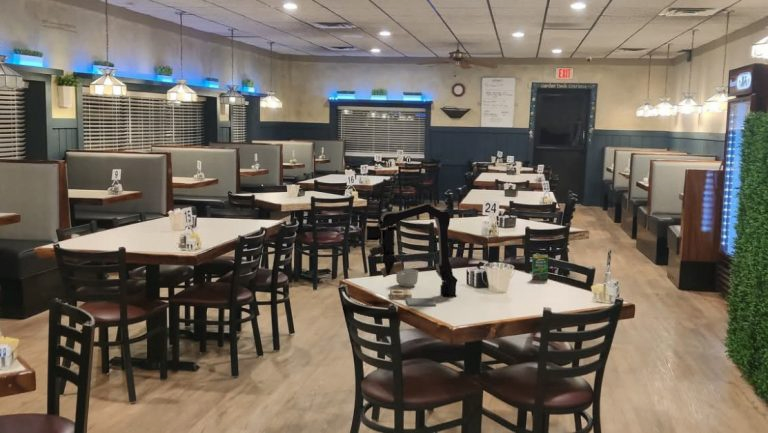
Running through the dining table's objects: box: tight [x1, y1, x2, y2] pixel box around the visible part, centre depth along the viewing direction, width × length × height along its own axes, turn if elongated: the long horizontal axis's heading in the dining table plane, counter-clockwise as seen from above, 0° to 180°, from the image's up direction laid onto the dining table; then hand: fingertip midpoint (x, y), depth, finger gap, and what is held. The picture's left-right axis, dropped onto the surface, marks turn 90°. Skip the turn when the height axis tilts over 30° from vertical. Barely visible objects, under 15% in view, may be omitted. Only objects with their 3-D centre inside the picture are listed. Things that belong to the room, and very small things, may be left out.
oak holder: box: [389, 289, 413, 300], centre depth 344 cm, size 9×10×2 cm
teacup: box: [395, 267, 419, 288], centre depth 366 cm, size 14×11×8 cm
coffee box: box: [531, 254, 549, 281], centre depth 388 cm, size 8×3×13 cm, turn 87°
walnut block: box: [380, 261, 404, 278], centre depth 341 cm, size 4×4×10 cm
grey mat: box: [405, 297, 437, 307], centre depth 332 cm, size 12×12×1 cm
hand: (387, 274), depth 341 cm, fingers closed on walnut block, 3 cm apart
